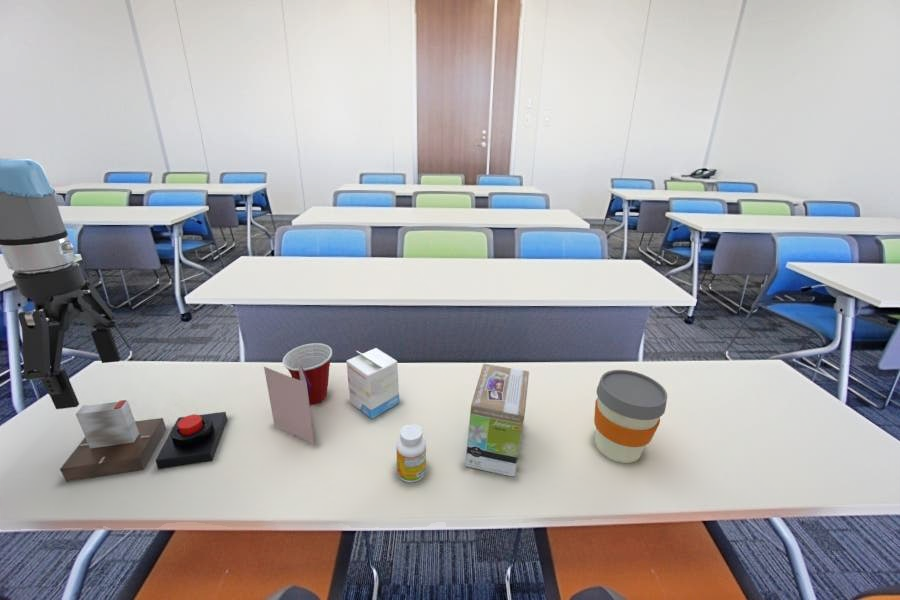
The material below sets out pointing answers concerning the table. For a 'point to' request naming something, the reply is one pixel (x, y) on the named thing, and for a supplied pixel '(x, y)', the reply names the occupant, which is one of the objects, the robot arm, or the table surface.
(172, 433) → the button block
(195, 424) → the button
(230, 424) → the table surface
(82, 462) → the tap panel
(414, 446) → the supplement bottle
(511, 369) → the tea box
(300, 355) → the plastic cup
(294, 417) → the greeting card
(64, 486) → the table surface
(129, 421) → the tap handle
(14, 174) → the robot arm
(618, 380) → the reusable coffee cup
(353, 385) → the ink box
